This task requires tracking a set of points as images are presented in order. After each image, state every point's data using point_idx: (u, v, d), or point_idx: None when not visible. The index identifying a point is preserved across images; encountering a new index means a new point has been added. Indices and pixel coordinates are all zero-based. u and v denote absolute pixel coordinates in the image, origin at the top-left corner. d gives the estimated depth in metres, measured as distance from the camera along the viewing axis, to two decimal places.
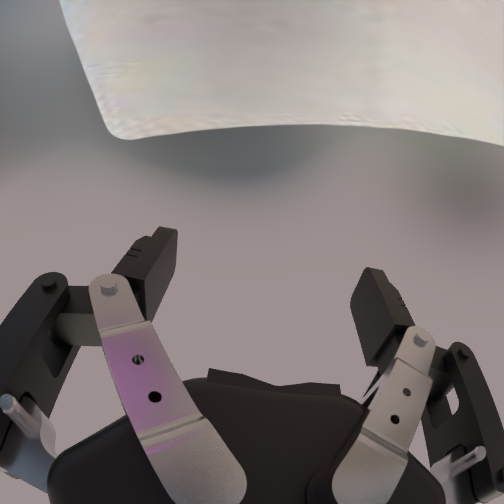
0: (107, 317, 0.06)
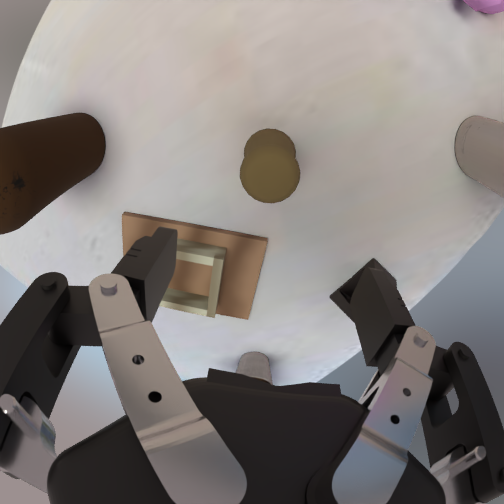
0: (107, 317, 0.06)
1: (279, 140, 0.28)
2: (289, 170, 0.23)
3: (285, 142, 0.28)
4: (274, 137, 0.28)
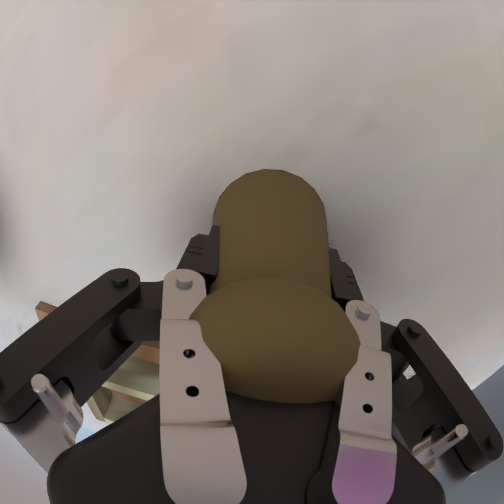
0: (192, 310, 0.07)
1: (296, 218, 0.11)
2: None
3: (310, 218, 0.11)
4: (282, 207, 0.11)
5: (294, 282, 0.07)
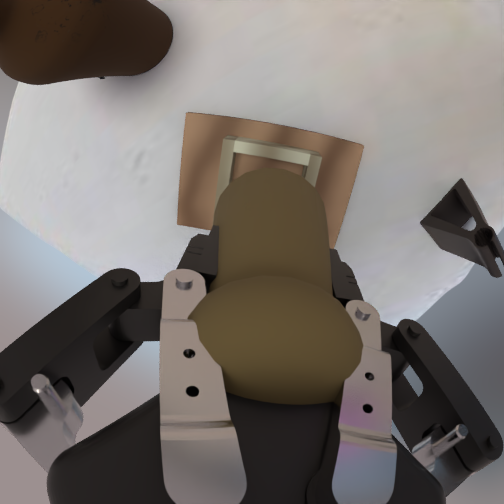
0: (192, 310, 0.07)
1: (297, 216, 0.10)
2: None
3: (311, 217, 0.11)
4: (283, 205, 0.11)
5: (295, 280, 0.07)
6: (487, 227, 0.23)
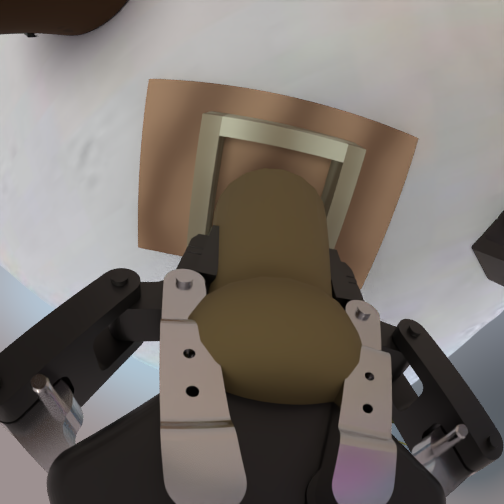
0: (192, 310, 0.07)
1: (296, 217, 0.10)
2: None
3: (311, 217, 0.11)
4: (283, 206, 0.11)
5: (295, 281, 0.07)
6: None
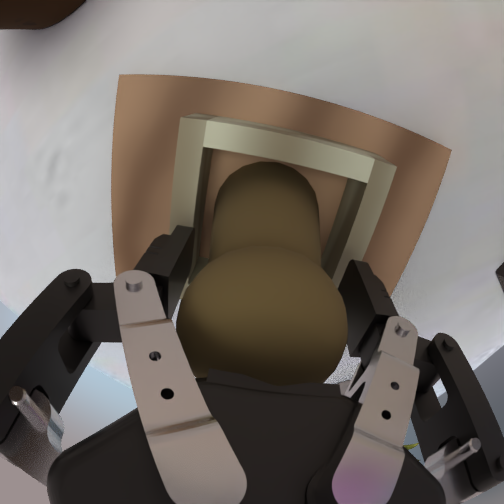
0: (135, 312, 0.07)
1: (287, 201, 0.12)
2: (322, 352, 0.07)
3: (301, 202, 0.12)
4: (275, 192, 0.12)
5: (282, 248, 0.08)
6: None
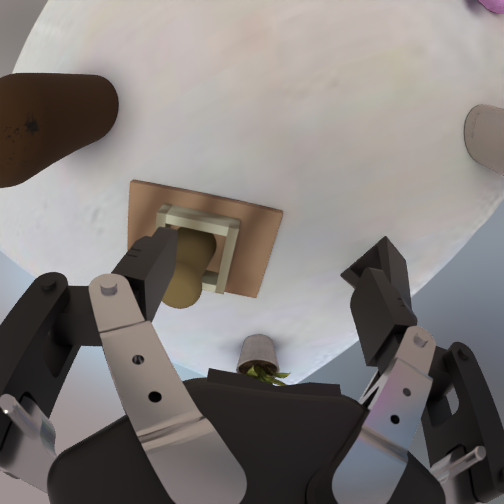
0: (107, 317, 0.06)
1: (193, 245, 0.34)
2: (189, 289, 0.29)
3: (200, 244, 0.34)
4: (190, 241, 0.34)
5: (182, 263, 0.30)
6: None
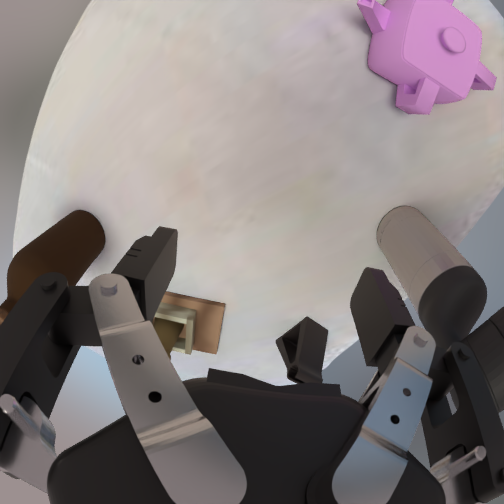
0: (107, 317, 0.06)
1: (165, 329, 0.50)
2: None
3: (170, 328, 0.50)
4: (163, 326, 0.50)
5: None
6: (297, 366, 0.46)
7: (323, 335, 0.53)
